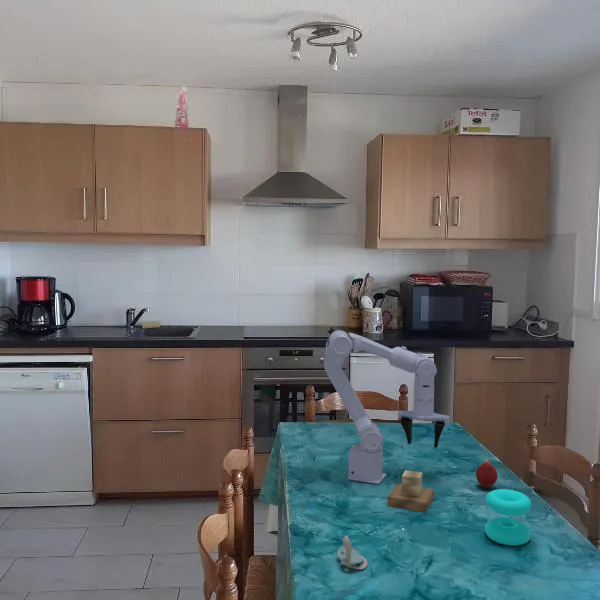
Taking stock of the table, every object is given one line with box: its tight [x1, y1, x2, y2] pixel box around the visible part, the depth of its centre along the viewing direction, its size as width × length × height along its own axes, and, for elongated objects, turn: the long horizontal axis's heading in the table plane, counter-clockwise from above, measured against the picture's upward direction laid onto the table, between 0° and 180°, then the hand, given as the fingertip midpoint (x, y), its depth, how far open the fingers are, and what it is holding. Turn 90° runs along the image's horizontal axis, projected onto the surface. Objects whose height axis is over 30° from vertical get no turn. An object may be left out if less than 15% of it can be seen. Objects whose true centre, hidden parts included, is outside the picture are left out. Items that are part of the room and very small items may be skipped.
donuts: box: [484, 488, 532, 546], centre depth 142 cm, size 10×10×10 cm
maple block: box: [401, 469, 423, 497], centre depth 162 cm, size 4×4×5 cm
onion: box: [475, 459, 499, 489], centre depth 172 cm, size 6×6×8 cm
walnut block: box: [387, 483, 435, 513], centre depth 163 cm, size 10×10×3 cm
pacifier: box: [336, 535, 368, 571], centre depth 130 cm, size 7×6×6 cm
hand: (422, 445), depth 179 cm, fingers open, 7 cm apart
